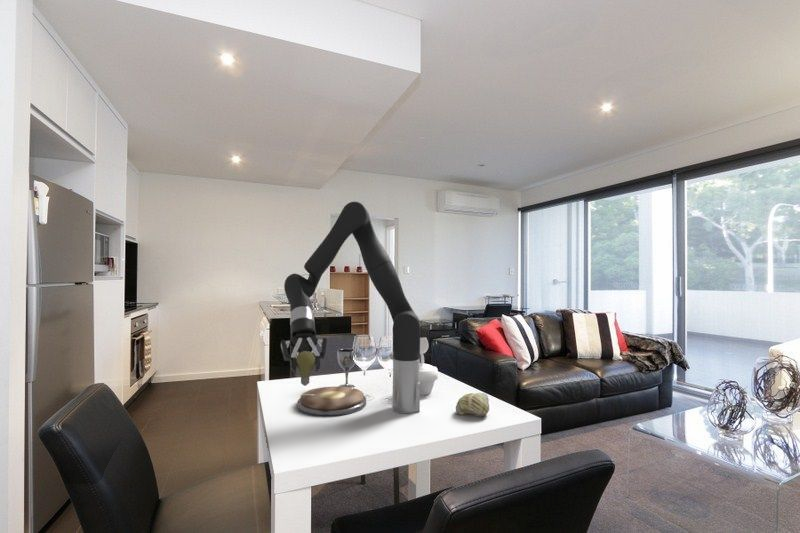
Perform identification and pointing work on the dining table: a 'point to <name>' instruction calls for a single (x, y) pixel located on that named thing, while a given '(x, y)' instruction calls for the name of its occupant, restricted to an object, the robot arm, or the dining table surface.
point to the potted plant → (426, 370)
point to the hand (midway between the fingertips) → (306, 370)
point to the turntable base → (331, 412)
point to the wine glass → (346, 363)
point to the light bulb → (305, 365)
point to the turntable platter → (331, 398)
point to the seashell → (473, 404)
